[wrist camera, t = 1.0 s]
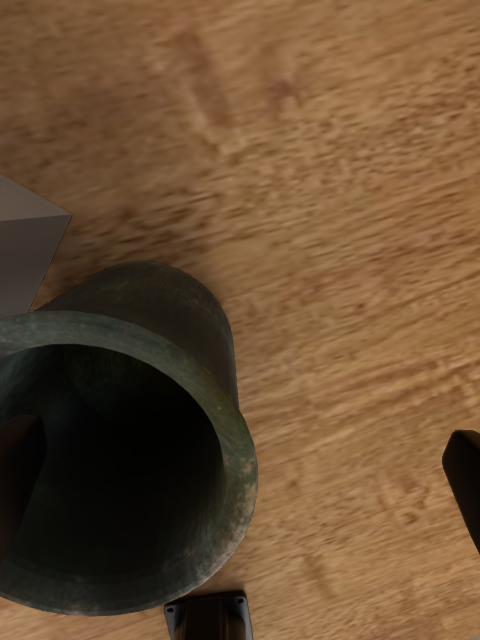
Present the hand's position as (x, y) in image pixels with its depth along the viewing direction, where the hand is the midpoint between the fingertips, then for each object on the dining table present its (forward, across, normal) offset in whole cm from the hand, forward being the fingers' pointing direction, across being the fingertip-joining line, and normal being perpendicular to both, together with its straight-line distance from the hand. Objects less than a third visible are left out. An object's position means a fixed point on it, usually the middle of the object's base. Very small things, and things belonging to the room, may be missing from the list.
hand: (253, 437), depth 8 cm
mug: (+14, +4, +7) cm, 16 cm away
